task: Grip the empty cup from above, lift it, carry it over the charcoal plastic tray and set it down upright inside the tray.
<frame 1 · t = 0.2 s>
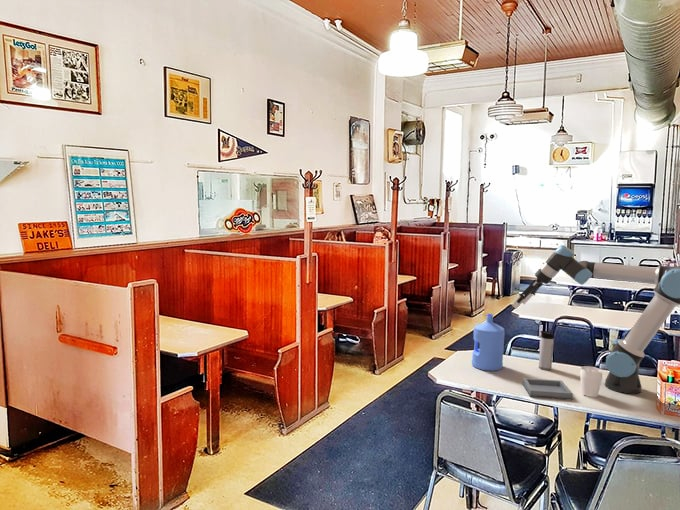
hand: (518, 304, 252), 35 cm above the table, tool tilted 35°, fingers open, 13 cm apart
cup: (589, 395, 230), on the table
water jug: (486, 366, 266), on the table
travel mug: (544, 368, 265), on the table
tray: (546, 391, 233), on the table
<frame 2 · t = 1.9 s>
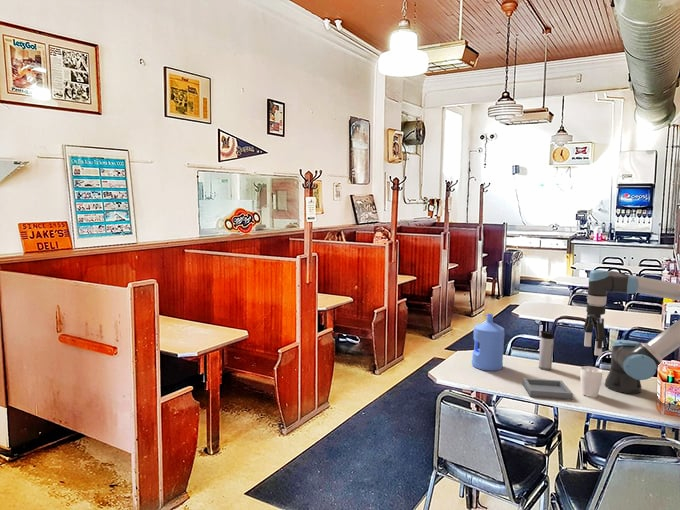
hand: (592, 350, 228), 21 cm above the table, tool pointing down, fingers open, 13 cm apart
nothing on the table moved.
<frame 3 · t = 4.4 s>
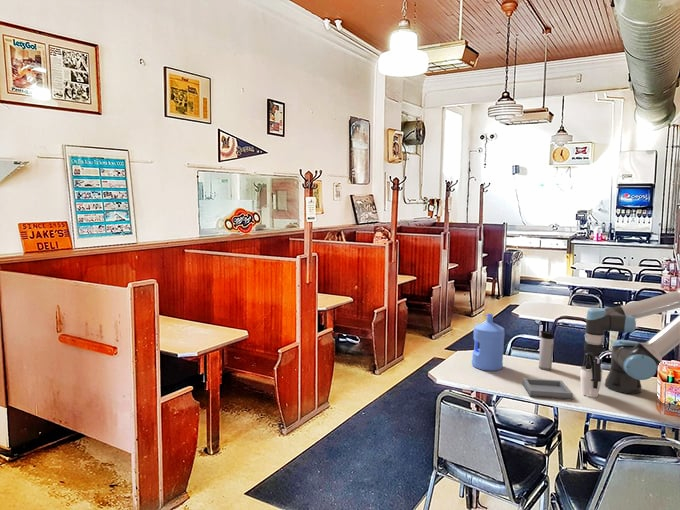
hand: (589, 390, 230), 2 cm above the table, tool pointing down, fingers closed on cup, 9 cm apart
cup: (589, 395, 230), on the table, touching gripper
everything else where it was.
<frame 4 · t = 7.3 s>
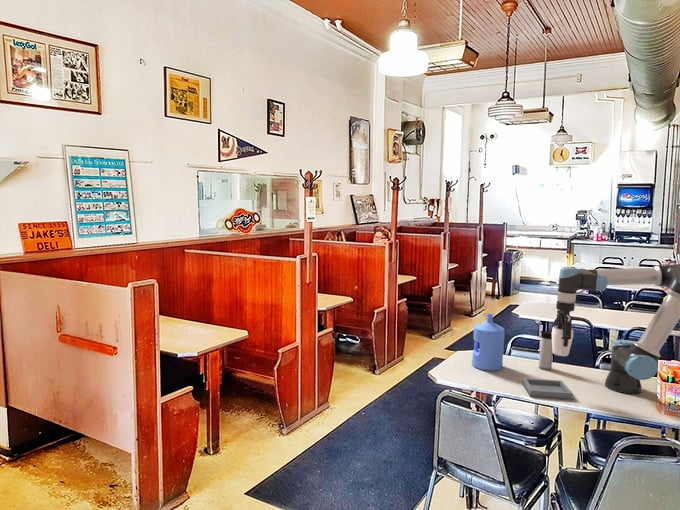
hand: (560, 349, 230), 20 cm above the table, tool pointing down, fingers closed on cup, 9 cm apart
cup: (560, 354, 230), point 18 cm above the table, touching gripper
everything else where it was.
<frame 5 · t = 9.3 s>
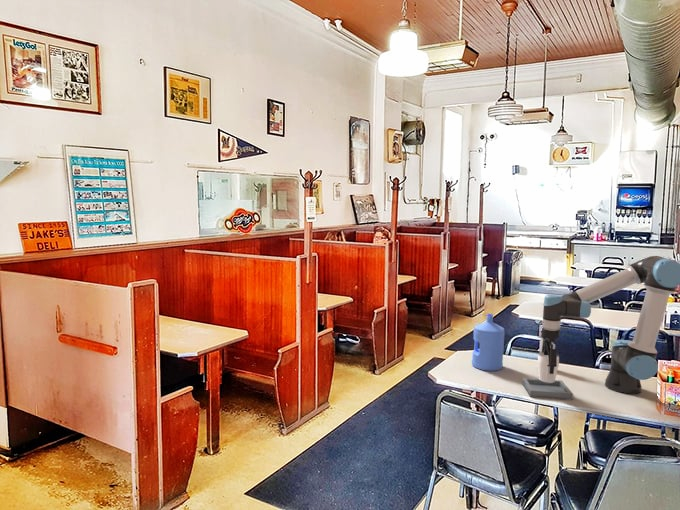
hand: (547, 376, 232), 7 cm above the table, tool pointing down, fingers closed on cup, 9 cm apart
cup: (546, 380, 232), point 5 cm above the table, touching gripper
everything else where it was.
when the fingers open (4 cm above the table, at t = 10.3 s): cup drops 1 cm, resting on tray.
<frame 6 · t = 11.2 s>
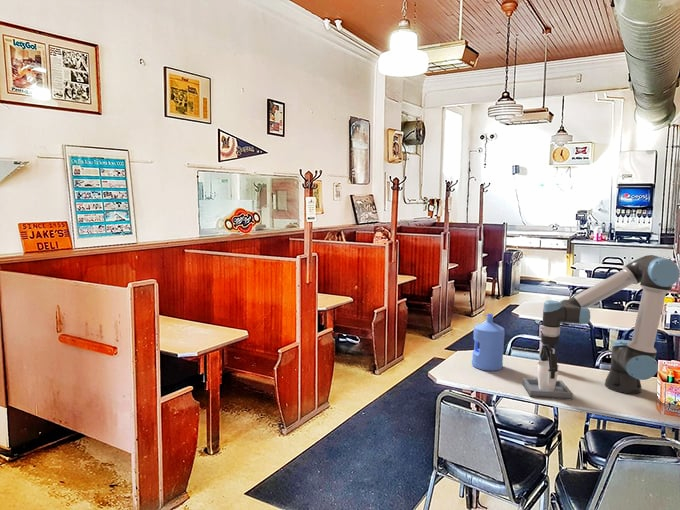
hand: (547, 379, 232), 6 cm above the table, tool pointing down, fingers open, 13 cm apart
cup: (546, 389, 233), point 1 cm above the table, touching tray
everything else where it was.
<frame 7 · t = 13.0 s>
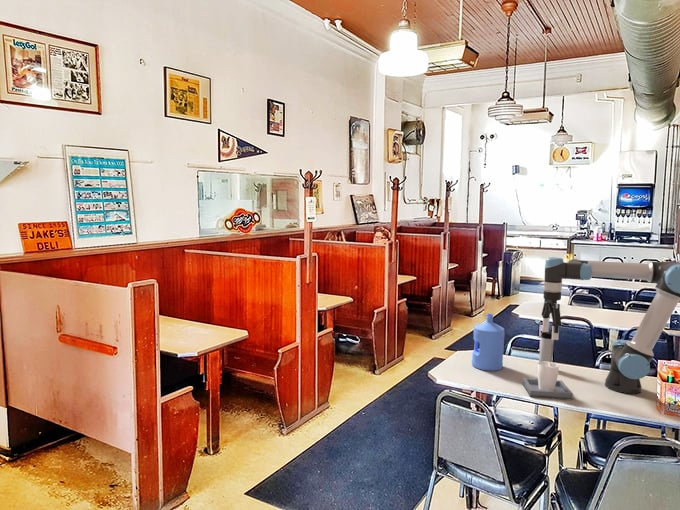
hand: (550, 335, 236), 25 cm above the table, tool pointing down, fingers open, 13 cm apart
nothing on the table moved.
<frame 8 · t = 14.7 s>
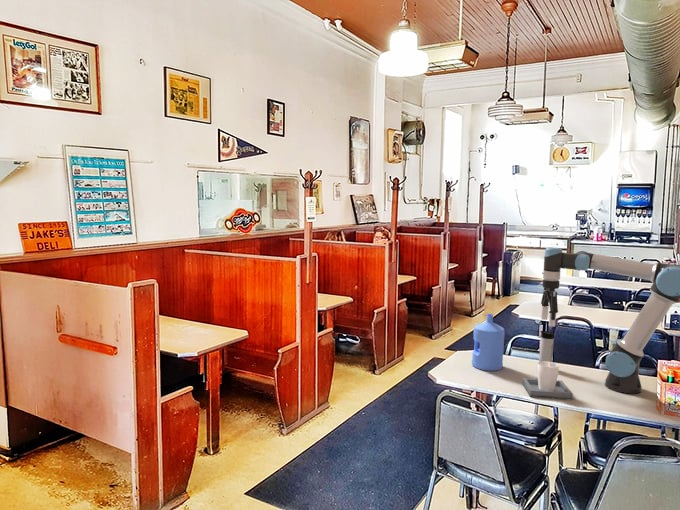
hand: (548, 322, 245), 29 cm above the table, tool pointing down, fingers open, 13 cm apart
nothing on the table moved.
at the end: cup 0.0 cm off-centre on the tray, point 0.8 cm above the tray's base; cup tilted 0°; the gripper is holding nothing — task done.
